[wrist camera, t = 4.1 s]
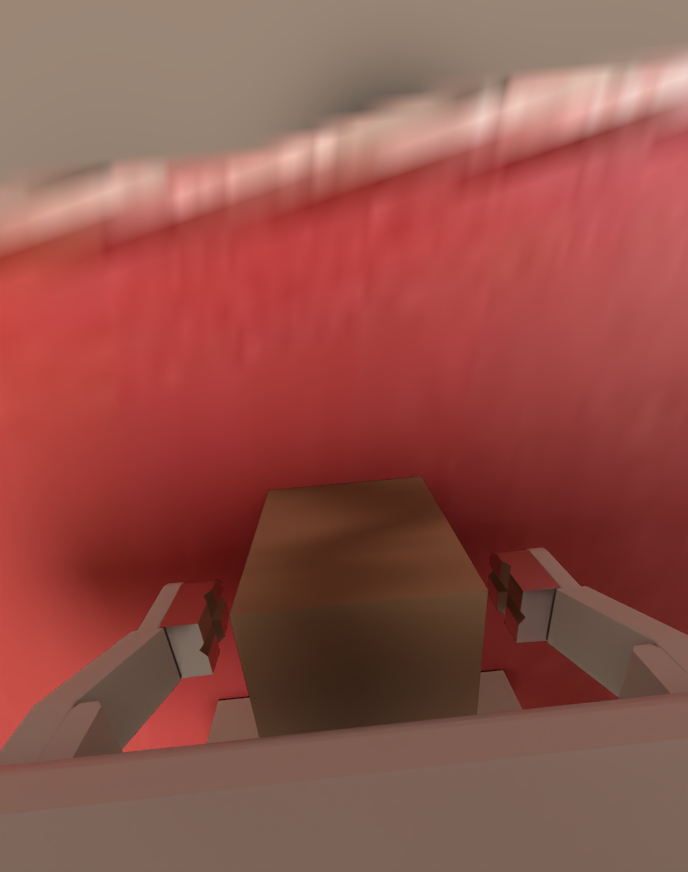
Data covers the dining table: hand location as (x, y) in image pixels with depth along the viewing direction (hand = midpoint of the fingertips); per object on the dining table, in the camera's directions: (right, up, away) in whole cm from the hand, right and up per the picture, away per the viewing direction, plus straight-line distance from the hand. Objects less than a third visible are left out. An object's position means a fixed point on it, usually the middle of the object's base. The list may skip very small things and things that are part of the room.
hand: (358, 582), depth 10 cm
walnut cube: (0, +1, +2) cm, 2 cm away
